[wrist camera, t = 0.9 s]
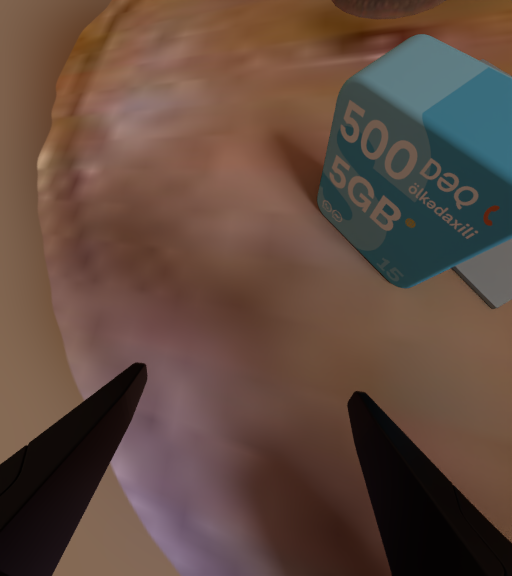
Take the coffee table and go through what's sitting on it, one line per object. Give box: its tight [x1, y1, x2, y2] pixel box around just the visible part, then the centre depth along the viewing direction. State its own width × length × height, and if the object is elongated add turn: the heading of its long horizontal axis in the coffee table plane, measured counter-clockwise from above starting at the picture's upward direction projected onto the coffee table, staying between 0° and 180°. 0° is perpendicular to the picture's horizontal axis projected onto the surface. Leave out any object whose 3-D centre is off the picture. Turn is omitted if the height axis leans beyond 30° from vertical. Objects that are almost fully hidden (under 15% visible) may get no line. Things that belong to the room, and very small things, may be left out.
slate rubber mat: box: [452, 59, 512, 309], centre depth 21 cm, size 22×20×1 cm
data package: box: [317, 34, 512, 288], centre depth 15 cm, size 12×4×12 cm, turn 35°
